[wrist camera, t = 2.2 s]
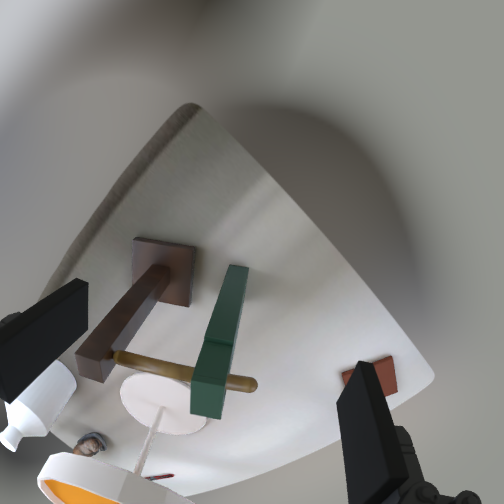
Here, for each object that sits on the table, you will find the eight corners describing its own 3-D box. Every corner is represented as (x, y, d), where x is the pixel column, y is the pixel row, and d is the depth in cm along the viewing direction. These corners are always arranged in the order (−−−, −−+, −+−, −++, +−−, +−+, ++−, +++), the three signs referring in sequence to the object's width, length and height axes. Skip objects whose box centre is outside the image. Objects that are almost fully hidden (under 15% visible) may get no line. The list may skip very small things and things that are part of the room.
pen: (176, 475, 73) (175, 477, 72) (146, 480, 76) (145, 482, 75) (171, 472, 72) (171, 474, 72) (142, 477, 76) (141, 479, 75)
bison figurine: (93, 426, 68) (79, 452, 58) (113, 441, 69) (101, 467, 60) (78, 436, 71) (64, 459, 62) (96, 449, 73) (84, 473, 63)
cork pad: (391, 355, 53) (392, 358, 52) (396, 389, 56) (397, 392, 55) (341, 372, 55) (342, 376, 54) (351, 404, 58) (351, 407, 57)
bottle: (80, 374, 61) (28, 451, 37) (74, 399, 65) (30, 469, 41) (40, 346, 59) (-19, 413, 36) (38, 374, 63) (-12, 437, 40)
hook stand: (270, 258, 48) (265, 368, 24) (260, 315, 51) (248, 438, 28) (135, 236, 48) (40, 314, 25) (135, 292, 52) (59, 388, 28)
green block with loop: (248, 267, 49) (225, 381, 25) (243, 301, 51) (219, 423, 27) (229, 264, 49) (190, 375, 25) (225, 298, 51) (189, 417, 27)
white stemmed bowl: (221, 356, 55) (184, 512, 26) (236, 448, 65) (220, 562, 35) (84, 346, 57) (5, 453, 28) (124, 435, 67) (83, 529, 38)
